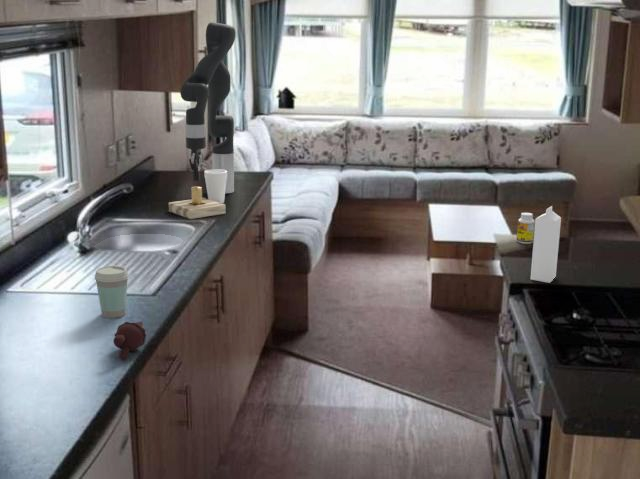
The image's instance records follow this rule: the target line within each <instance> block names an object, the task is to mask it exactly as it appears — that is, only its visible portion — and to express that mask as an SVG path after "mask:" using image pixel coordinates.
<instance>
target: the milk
mask: <svg viewBox="0 0 640 479" xmlns="http://www.w3.org/2000/svg"><path fill="white" fill-rule="evenodd" d="M534 221H535V223H534V235H533V242H532V255H531V268H530V278H529V279H530V280H531V281H538V282H543V283H549V284H551V282H552V281H554V280H555V279H556V278H555V277H557V266H558V255H559V248H560V246H559V245H560V235H561V224H562V217H561V216H560V215H558V214H557V213H556V212H554V210H553V205H551V206H549V207H548V208H546V209H545V213H542V214H541V215H539V216H537V217H536V218H535V219H534ZM554 278H555V279H554ZM553 279H554V280H553Z"/></svg>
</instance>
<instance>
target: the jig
mask: <svg viewBox="0 0 640 479" xmlns="http://www.w3.org/2000/svg"><path fill="white" fill-rule="evenodd" d="M226 207H227V206H226V204H225V203H219V202H216V201H212V200H209V199H208V198H206V197H202V205H197V206H194V205H192V198H191V199H186V200H177V201H172V202H171V201H170V202H168V212H170V213H173V214H175V215H178V216H179V217H180V216H181V217H184V218H185V219H189V220H195V219H199V218H206V217H210V216H211V217H212V216H219V215H224V214H226V210H227V208H226Z"/></svg>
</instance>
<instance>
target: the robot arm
mask: <svg viewBox="0 0 640 479" xmlns="http://www.w3.org/2000/svg"><path fill="white" fill-rule="evenodd" d="M235 40H236V29H235V27H234V26H232V25H231V24H225V23H220V22H215V21H213V22H212V21H210V22H209V23H208V24H207V26H206V29H205V44H206V45H205V46H206V55H205V56H203V57H202V58H201V59H199V60H200V61H199V62H198V63H197V66H196V67H195V69H194V71H193V73H192V74H191V75H190V76H189V77H188V78H187V79H186V80H185V81H184V82H183V84H182V85H181V88H180V92H179V93H180V98H182V100H183V101H184V102H189V103H190V102H192V103H196V104H195V107H191V108H190V107H189V108H187V109H186V111H185V148H186V149H189V150H190V152H191V153H190V154H189V159H188V161H189V166H190V169H191V171H192V173H193V174H192V176H193V181H195V182H199V181H200V179H201V176H200V175H201V173H200V172H201V168H202V165H203V157H204V155H203V152H202V150H204V149H206V147H207V146H206V145H207V140H206V126H205V124H206V123H205V121H206V120H205V112H206V108H207V103H208V122H207V124H208V126H207V127H208V128H207V129H208V134H209V136H210V137H212V138H225V140H224V141H222V142H220V143H217V144H214V145H213V146H212V149H211V153H212V154H211V155H212V156H211V157H212V169H221V170H226V171H227V180H226V189H225V194H232V193H234V192H235V166H234V164H235V156H234V155H235V154H234V153H235V152H234V132H235V121H234V117H233V116H232V115H217V114H218V111H219V109H220V107H221V105H222V104H223V102H224V101H225V100H226V98H227V97H228V96H229V95H230V92H231V73H230V70H229V69H228V67H227V66H226V64H225V63H224V61H223V60H224V58H225V57H226V55H227V54H228V53H229V52H230V50H232V47H233V45H234V43H235Z"/></svg>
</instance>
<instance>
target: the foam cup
mask: <svg viewBox="0 0 640 479" xmlns="http://www.w3.org/2000/svg"><path fill="white" fill-rule="evenodd" d="M203 177H204V178H205V179H204V180H205V186H206V193H207V199H209V200H212V201H216V202H219V203H222V204H225V198H226V196H225V195H226V193H225V189H226V180H227V171H226V170H221V169H213V168H211V169H206V170H204V176H203Z"/></svg>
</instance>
